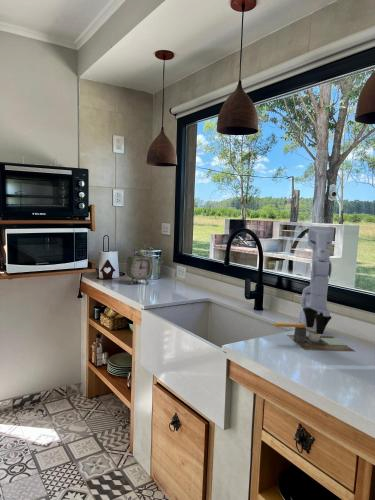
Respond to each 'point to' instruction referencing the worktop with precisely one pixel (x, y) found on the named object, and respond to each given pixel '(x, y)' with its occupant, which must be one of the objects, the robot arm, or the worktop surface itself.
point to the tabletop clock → (139, 266)
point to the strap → (290, 324)
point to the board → (303, 341)
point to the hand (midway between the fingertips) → (314, 330)
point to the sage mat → (333, 341)
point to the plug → (313, 335)
